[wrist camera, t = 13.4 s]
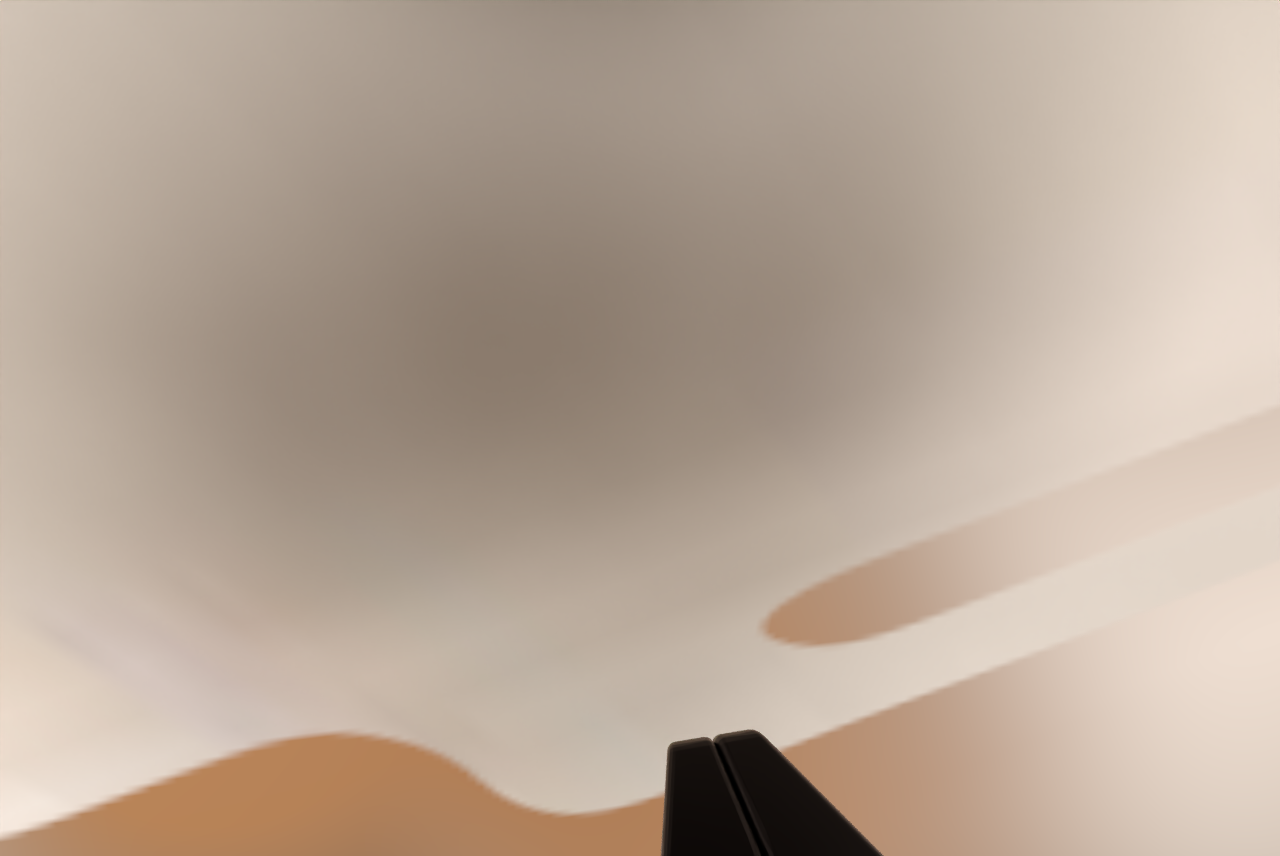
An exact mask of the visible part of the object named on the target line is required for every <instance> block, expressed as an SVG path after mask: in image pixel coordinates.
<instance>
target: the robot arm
mask: <svg viewBox="0 0 1280 856" xmlns="http://www.w3.org/2000/svg"><path fill="white" fill-rule="evenodd" d="M661 856H883V855H882V854H881V853H880V852H879V851H878V850H877V849H876V848H875V847H874V846H873V845H872V844H871V843H870V842H869V841H868V840H867V839H866V838H865V837H864V836H863V835H862V834H861V833H860V832H859V831H858V830H857V829H856V828H855V827H854V826H853V825H852V824H851V823H850V822H849V821H848V820H847V819H846V818H845V817H844V816H843V815H842V814H841V813H840V812H839V811H838V810H837V809H836V808H835V807H834V806H833V805H832V804H831V803H830V802H829V801H828V800H827V799H826V798H825V797H824V796H823V795H822V794H821V793H820V792H819V791H818V790H817V789H816V788H815V787H814V786H813V785H812V784H811V783H810V782H809V781H808V780H807V779H806V778H805V777H804V776H803V775H802V774H801V773H800V772H799V771H798V770H797V769H796V768H795V767H794V765H793V764H792V763H790V761H788V759H786V757H785V756H784V755H782V753H781V752H780V751H779V750H778V749H777V748H776V747H775V746H774V745H773V744H772V743H771V742H770V741H769V740H768V739H767V738H766V737H765V736H764V735H762V734H761V733H760V732H758V731H755V730H743V731H737V732H731V733H725V734H720V735H717V736H716V737H715V738H714V739H713V741H712V740H711V739H710V738H707V737H701V738H695V739H689V740H683V741H677V742H673V743H671V744H670V745H669V747H668V751H667V766H666V782H665V798H664V814H663V831H662V846H661Z"/></svg>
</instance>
